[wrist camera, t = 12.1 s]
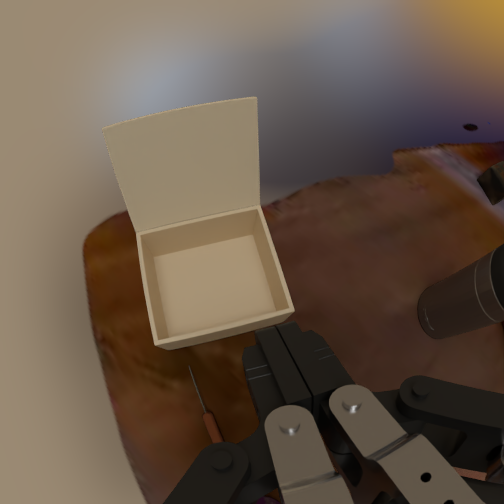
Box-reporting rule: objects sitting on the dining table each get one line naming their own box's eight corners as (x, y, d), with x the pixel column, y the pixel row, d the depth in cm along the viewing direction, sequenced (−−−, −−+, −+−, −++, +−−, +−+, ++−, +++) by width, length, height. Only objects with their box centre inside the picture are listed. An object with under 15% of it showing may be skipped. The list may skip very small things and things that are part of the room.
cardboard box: (254, 232, 45) (260, 204, 38) (282, 322, 41) (294, 310, 33) (150, 256, 43) (136, 232, 35) (168, 350, 38) (154, 345, 31)
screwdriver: (235, 466, 33) (235, 470, 31) (225, 468, 32) (225, 473, 30) (194, 363, 38) (192, 363, 36) (185, 366, 38) (182, 366, 36)
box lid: (260, 204, 38) (258, 201, 38) (257, 98, 28) (255, 96, 28) (135, 232, 35) (135, 228, 36) (101, 129, 25) (102, 127, 26)
